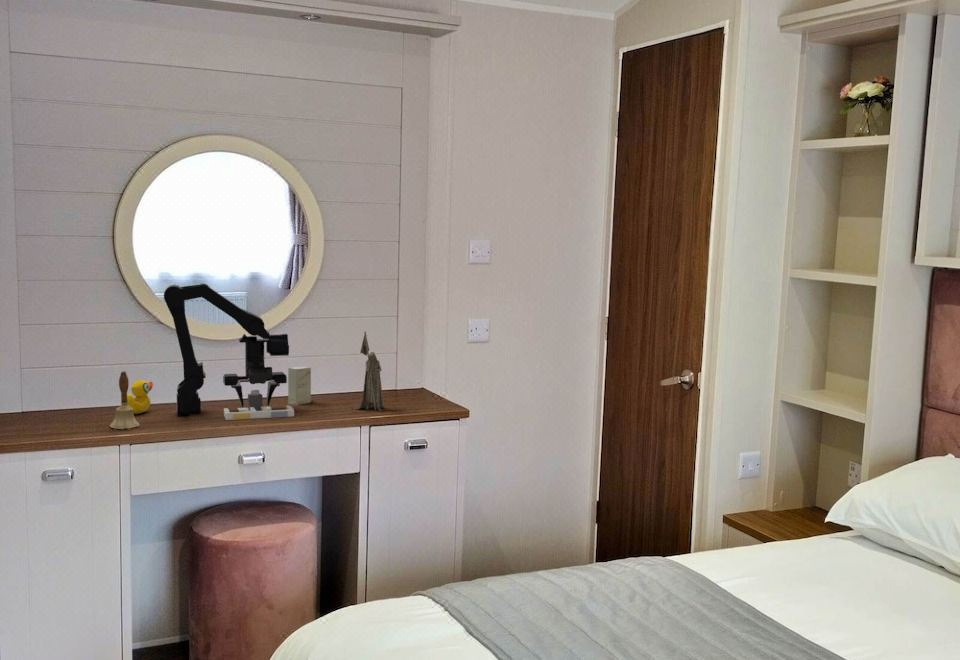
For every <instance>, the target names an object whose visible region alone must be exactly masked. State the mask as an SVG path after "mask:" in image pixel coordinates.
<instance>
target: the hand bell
mask: <svg viewBox="0 0 960 660" xmlns="http://www.w3.org/2000/svg"><path fill="white" fill-rule="evenodd" d="M129 382H130V381H129V377H128V374H127V371H125V370H124V371H121V372H120V376H119V379H118V387H119V391H120V395H121V398H120V400H121V401H120V406H118V407H116V409H115V416H114V419H113V421H112V422H111V424H109V426H110V427H111V428H118V429H124V428H132V427H136V426H139V425H140V426H141V424H140V423H139V422H138V421H137V419H136V418H135V414H133V408H132V407H130V406H128V403H127V402H128V401H127V394H128V390H129V386H130V385H129V384H130V383H129ZM111 428H110V429H111Z"/></svg>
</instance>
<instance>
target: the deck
mask: <svg viewBox="0 0 960 660" xmlns="http://www.w3.org/2000/svg"><path fill="white" fill-rule="evenodd" d="M265 407H266V409H267V410H273V408H272V407H271V406H265ZM237 410H238V412H249V410H248V407H238V408H237Z"/></svg>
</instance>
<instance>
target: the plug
mask: <svg viewBox="0 0 960 660" xmlns="http://www.w3.org/2000/svg"><path fill="white" fill-rule="evenodd" d="M263 398H264V397H263V394H262V393H260V390H259V389H251V390H250V393H248V394H247V408H248V410H249V411H250V407H254V408H255V410H256V411H261V407H262V406H264V405H263V403H264V401H263Z"/></svg>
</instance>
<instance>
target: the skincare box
mask: <svg viewBox="0 0 960 660" xmlns="http://www.w3.org/2000/svg"><path fill="white" fill-rule="evenodd" d="M311 368H312V367H310V366H304V365H300V366H294V367H288V370H287V373H288V374H287V377H288V379H287V383H288V386H287V387H288V388H287V391H288V392H287V396H288V397H287V399H288V400H287V403H288V405H295V406H301V405H305V404H309V403H311V402H312V379H311V378H312V377H311V376H312V375H311V374H312V372H311V371H312V369H311Z"/></svg>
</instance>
